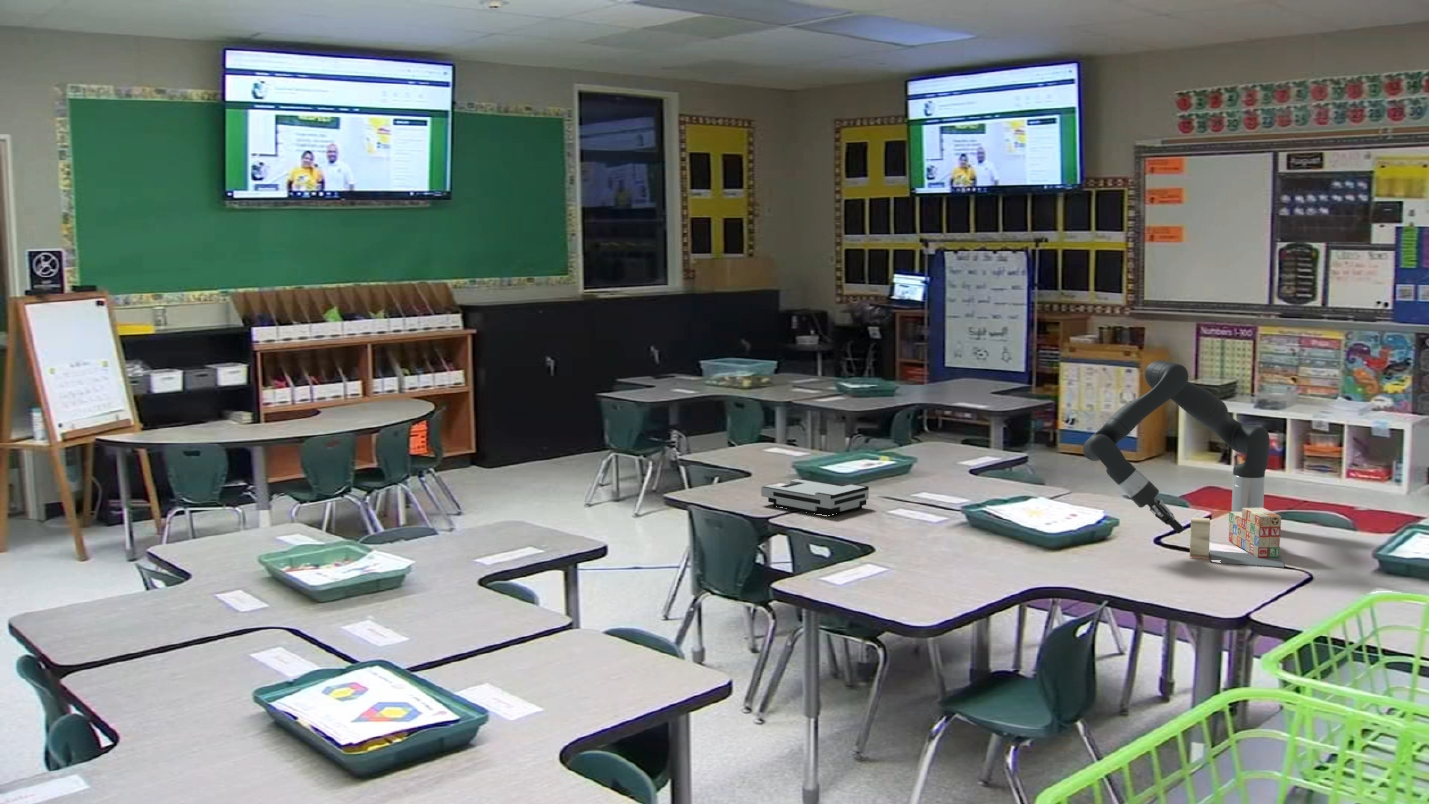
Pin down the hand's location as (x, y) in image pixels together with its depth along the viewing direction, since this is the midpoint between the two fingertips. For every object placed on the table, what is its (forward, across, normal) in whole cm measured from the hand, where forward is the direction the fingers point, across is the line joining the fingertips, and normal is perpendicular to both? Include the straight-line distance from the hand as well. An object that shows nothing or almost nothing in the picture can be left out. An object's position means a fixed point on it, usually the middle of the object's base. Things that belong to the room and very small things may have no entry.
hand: (1181, 531), depth 353 cm
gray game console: (-80, +33, +91) cm, 126 cm away
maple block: (+9, 0, +2) cm, 9 cm away
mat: (+18, 0, -7) cm, 19 cm away
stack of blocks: (+19, +12, -9) cm, 25 cm away
